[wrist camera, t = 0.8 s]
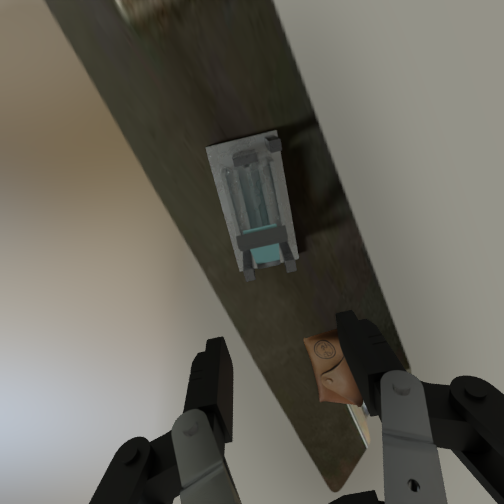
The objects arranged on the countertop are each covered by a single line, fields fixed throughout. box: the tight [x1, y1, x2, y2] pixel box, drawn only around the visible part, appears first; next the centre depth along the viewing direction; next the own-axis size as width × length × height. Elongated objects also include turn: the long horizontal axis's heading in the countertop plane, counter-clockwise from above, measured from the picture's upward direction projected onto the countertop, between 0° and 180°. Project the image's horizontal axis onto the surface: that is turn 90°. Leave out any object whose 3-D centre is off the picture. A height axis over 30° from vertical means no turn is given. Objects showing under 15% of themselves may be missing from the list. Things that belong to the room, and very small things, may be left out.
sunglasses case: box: [303, 329, 363, 407], centre depth 54 cm, size 18×7×7 cm
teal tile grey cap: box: [236, 224, 288, 269], centre depth 32 cm, size 14×4×2 cm
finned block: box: [206, 130, 299, 282], centre depth 37 cm, size 18×9×8 cm, turn 13°
